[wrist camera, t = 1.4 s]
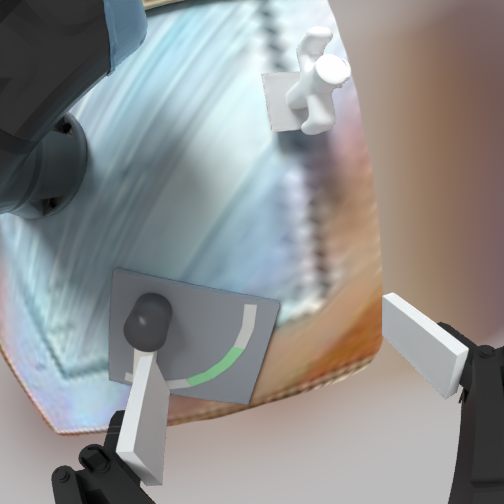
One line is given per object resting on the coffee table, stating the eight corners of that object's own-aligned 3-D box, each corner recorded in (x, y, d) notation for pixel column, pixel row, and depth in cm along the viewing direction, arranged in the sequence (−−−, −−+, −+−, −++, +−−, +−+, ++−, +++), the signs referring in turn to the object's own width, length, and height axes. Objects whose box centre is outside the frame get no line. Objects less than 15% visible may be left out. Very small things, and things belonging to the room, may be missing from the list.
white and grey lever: (136, 289, 35) (124, 309, 29) (174, 297, 36) (168, 318, 30) (130, 374, 38) (121, 400, 32) (163, 381, 39) (158, 408, 33)
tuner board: (111, 374, 40) (108, 380, 38) (116, 267, 36) (112, 271, 34) (246, 398, 44) (248, 405, 42) (277, 300, 40) (280, 305, 38)
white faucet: (267, 145, 35) (304, 125, 20) (254, 75, 32) (281, 20, 18) (321, 139, 35) (384, 122, 21) (309, 72, 33) (360, 24, 18)
